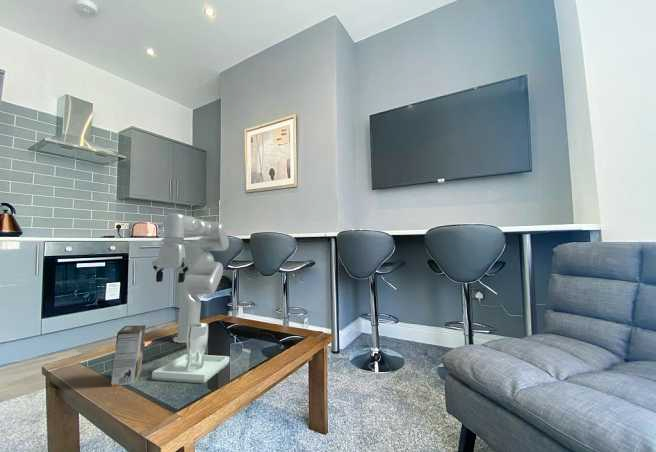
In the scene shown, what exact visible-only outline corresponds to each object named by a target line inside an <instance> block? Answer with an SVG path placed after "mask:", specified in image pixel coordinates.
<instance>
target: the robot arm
mask: <svg viewBox="0 0 656 452" xmlns="http://www.w3.org/2000/svg"><path fill="white" fill-rule="evenodd" d="M162 227H163V229H164V234H163V238H162V239H161V240H160V241H161V243H163V244H161V245H160V247H159V249H158V254H157V259H155V260H152V261H151V265H152V268H153V270H155V273H156V276H155V282H156V283H159V282H163V278H164V272H163V271H164V270H165V269H177V270H178V271H179V273H178V278H177V279H178V280H177V282H178V283H179V293H180V297H179V298H180V301H179V302H180V303H179V312H178V321H177V323H178V324H177V332H176V333H177V334H176V336H177V337H176V336H174V337H173V338H172V342H174V343H176V342H177V344H187V332H188V326H189V325H190V324H194V323H201V322H200V319H201V310H202V308H201V307H202V301H201V298H200V297H199V295H211V294H214V293H216V290H217V289H218V286H219V284H220V281H221V279H222V276H223V274H224V273H223V272H224V266H223V264H222V263H221V262H219V261H215V258H214V256H213V254H212V253H211V252H213V251H214V252H215V251H216V252H224V251H227V250H228V248H229V246H230V245H229V244H230V241H229V237H228V234H227V231H226V227H225V226H224V223H222V222H221V221H209V220H203V219H200V218H196V217H194V216H191V215H184V214H182V213H175V212H172V213H171V212H169V213H167V214H166V215H165V217H164V218H163V219H162ZM185 235H191V236H199V237H200V238H198V240H197V253H198V254H197V255H198V257H197V258H196V261H195V263H194V264H193V262H191V261H190V260H188V259H186V248H185V245H184V239H185ZM210 251H211V252H210ZM192 265H193V266H192ZM190 268H191V271H190V274H188V275H187V274H186V273H187V272H188V271H189V270H190Z"/></svg>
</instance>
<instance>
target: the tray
mask: <svg viewBox="0 0 656 452" xmlns="http://www.w3.org/2000/svg"><path fill="white" fill-rule="evenodd" d="M187 359H188V355H187V353H185V354H183V355H181V356H179V357H178V358H177V357H176V358H175V359H173V360H172V361H170V362H167V363H165V364H164V365H162V366H160V367H159V368H156V369H155V370H152V371H151V372H152V373H151V381H163V382H178V383H193V384H194V383H195V384H206V383H207V382H208V381H209V380H211V378H213V377H214V376H215V375H216V374H217V373H219V372H220V371H221V370H223V369H224V368H225V367H226V366H228V365H229V364H230V356H227V355H212V354H211V355H208V354H204V368H203V369H202V370H199V371H195V372H188V371H186V370H185V368H186V364H187Z"/></svg>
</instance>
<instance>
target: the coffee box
mask: <svg viewBox="0 0 656 452" xmlns="http://www.w3.org/2000/svg"><path fill="white" fill-rule="evenodd" d="M146 327H147V326H146V325H125V326H123V327H122V328H121V329H120V330H119V331H118V332H117V333H116V341H115V348H114V358H113V364H112V365H113V366H112V371H111V372H112V374H111V382H110V385H111V384H119V386H124V385H125V386H126V385H134V384H135V383H136V381H137V380H138V378H139V377H140V375H141V373H142V366H143V365H142V364H143V357H144V356H143V354H144V346H145V335H146Z"/></svg>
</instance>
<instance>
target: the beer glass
mask: <svg viewBox="0 0 656 452" xmlns="http://www.w3.org/2000/svg"><path fill="white" fill-rule="evenodd" d="M208 339H209V324H208V323H206V322H199V323H194V324H190V325H189V326H188V332H187V343H186V354H187V355H188V359H187V364H186V368H185V370H186V371H188V372H195V371H199V370H202V369H203V368H204V355H205V352H206V349H207V345H208Z"/></svg>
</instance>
